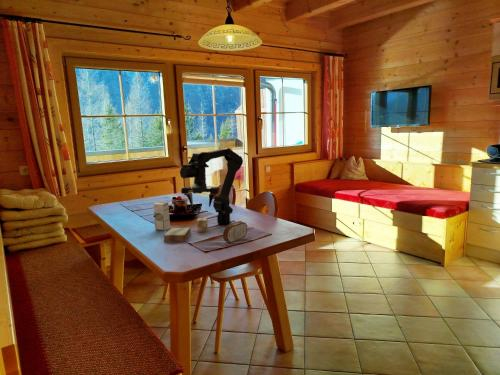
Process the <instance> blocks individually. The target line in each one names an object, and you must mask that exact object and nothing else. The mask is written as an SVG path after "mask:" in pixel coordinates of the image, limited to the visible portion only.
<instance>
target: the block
mask: <svg viewBox="0 0 500 375" xmlns="http://www.w3.org/2000/svg"><path fill="white" fill-rule="evenodd" d="M196 226H197V227H196V228H197V232H198V233H199V232H200V233H204V232H207V231H208V229H209V228H208V217H199V218H197V220H196Z"/></svg>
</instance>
